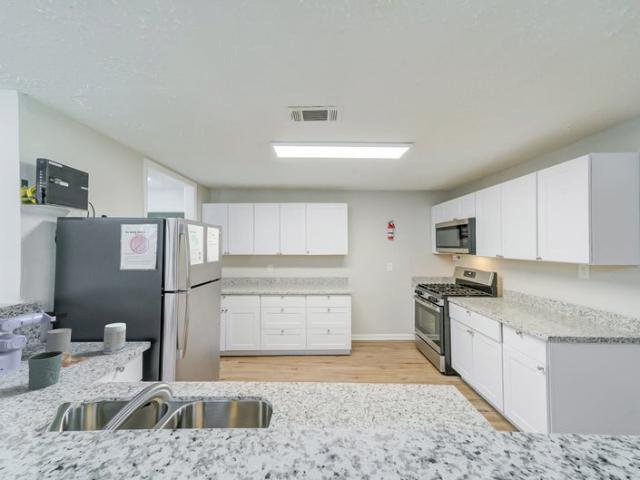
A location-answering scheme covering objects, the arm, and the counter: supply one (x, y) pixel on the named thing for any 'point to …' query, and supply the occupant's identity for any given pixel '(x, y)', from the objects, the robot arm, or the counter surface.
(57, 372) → the green plant pot
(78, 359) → the board
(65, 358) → the birch block
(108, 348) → the supplement tub
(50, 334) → the grey marbled cylinder
